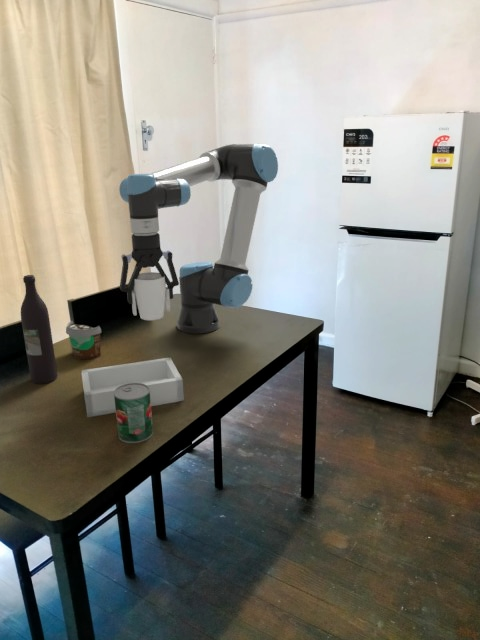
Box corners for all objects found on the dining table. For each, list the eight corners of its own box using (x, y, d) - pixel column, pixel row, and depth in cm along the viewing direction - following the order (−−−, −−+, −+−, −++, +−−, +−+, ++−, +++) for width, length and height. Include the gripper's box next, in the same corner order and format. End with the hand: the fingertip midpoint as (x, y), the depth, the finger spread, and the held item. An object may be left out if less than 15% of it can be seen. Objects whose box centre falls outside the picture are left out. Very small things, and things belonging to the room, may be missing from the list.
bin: (171, 376, 145) (170, 357, 143) (183, 400, 131) (182, 379, 129) (83, 390, 137) (81, 370, 135) (87, 417, 124) (84, 395, 122)
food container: (60, 356, 160) (56, 326, 156) (75, 349, 165) (71, 320, 161) (90, 363, 154) (86, 332, 151) (104, 356, 159) (100, 326, 156)
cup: (172, 312, 149) (170, 273, 145) (160, 323, 141) (157, 281, 137) (144, 310, 151) (141, 271, 147) (130, 320, 143) (126, 279, 139)
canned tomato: (160, 432, 117) (157, 389, 113) (132, 447, 111) (128, 402, 108) (138, 421, 122) (135, 379, 118) (111, 434, 116) (106, 391, 113)
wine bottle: (30, 376, 146) (13, 274, 136) (55, 371, 149) (41, 271, 139) (32, 386, 140) (15, 280, 130) (59, 381, 143) (44, 277, 133)
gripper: (105, 238, 131) (114, 320, 139) (187, 232, 138) (191, 311, 146) (103, 233, 138) (111, 312, 146) (181, 228, 145) (185, 303, 152)
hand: (151, 311), depth 146 cm, fingers closed on cup, 9 cm apart
